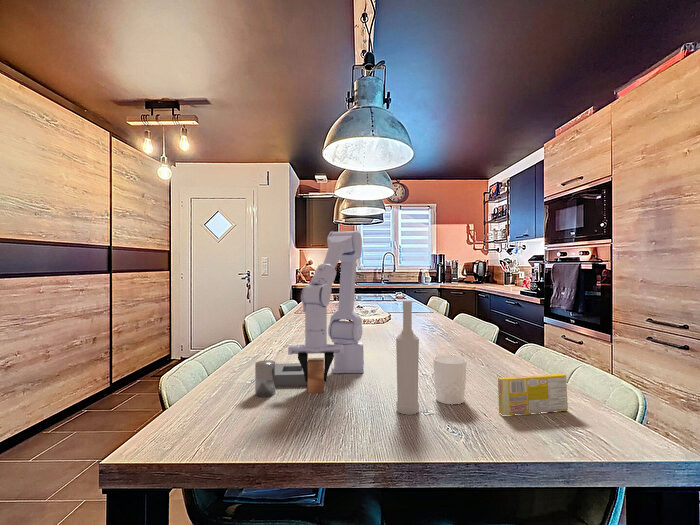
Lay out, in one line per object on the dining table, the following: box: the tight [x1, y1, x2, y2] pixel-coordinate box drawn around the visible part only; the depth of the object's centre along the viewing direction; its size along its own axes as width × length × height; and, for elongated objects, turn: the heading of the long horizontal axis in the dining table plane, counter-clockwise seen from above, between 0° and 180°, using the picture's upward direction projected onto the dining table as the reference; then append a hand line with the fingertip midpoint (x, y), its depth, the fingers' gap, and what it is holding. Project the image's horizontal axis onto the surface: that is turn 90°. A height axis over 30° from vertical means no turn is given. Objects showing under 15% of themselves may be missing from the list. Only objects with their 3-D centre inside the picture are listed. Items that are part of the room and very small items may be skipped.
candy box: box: [497, 373, 569, 415], centre depth 82 cm, size 16×2×8 cm, turn 100°
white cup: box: [433, 355, 467, 406], centre depth 90 cm, size 8×8×10 cm
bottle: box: [395, 299, 420, 416], centre depth 83 cm, size 5×5×25 cm
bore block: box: [275, 362, 308, 387], centre depth 107 cm, size 12×12×3 cm
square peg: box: [307, 357, 325, 394], centre depth 98 cm, size 4×4×8 cm
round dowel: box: [254, 359, 276, 398], centre depth 95 cm, size 5×5×8 cm
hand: (315, 380), depth 98 cm, fingers closed on square peg, 4 cm apart
